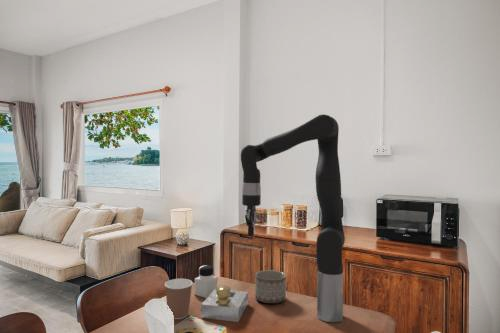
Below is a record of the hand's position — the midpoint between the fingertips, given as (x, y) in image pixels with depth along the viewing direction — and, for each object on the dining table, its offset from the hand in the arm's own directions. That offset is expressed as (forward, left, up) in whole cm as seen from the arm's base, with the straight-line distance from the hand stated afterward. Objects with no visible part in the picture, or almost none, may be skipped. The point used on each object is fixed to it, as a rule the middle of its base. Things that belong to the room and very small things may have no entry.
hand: (251, 235), depth 143 cm
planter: (-8, -3, -27) cm, 29 cm away
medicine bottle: (+20, -2, -27) cm, 34 cm away
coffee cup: (+23, +20, -27) cm, 41 cm away
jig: (+7, +12, -27) cm, 30 cm away
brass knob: (+7, +16, -27) cm, 32 cm away
